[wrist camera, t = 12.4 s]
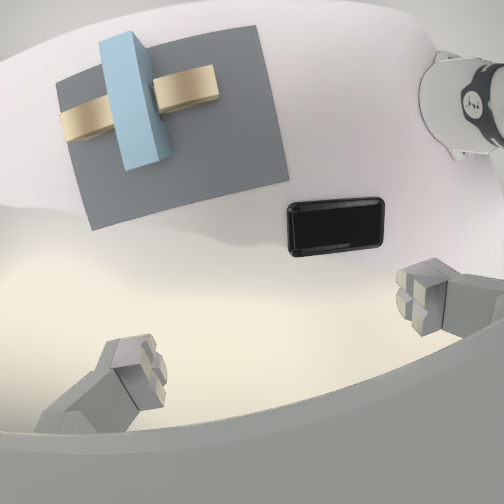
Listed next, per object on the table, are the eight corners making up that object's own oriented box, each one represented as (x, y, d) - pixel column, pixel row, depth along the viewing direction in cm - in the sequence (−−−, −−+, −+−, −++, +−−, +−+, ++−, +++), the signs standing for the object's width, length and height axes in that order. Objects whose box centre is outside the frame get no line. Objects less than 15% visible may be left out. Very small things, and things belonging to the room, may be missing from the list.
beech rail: (212, 76, 36) (212, 64, 30) (217, 101, 38) (219, 94, 31) (81, 116, 36) (59, 113, 29) (86, 140, 37) (65, 141, 30)
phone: (287, 204, 43) (385, 197, 44) (285, 202, 44) (381, 196, 46) (289, 259, 46) (382, 247, 47) (287, 256, 47) (379, 245, 48)
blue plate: (150, 55, 34) (131, 30, 24) (172, 154, 39) (159, 160, 29) (125, 63, 34) (98, 42, 24) (146, 161, 39) (125, 170, 29)
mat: (255, 26, 35) (255, 25, 34) (288, 180, 43) (289, 180, 42) (56, 83, 34) (55, 83, 33) (93, 230, 42) (92, 231, 41)
